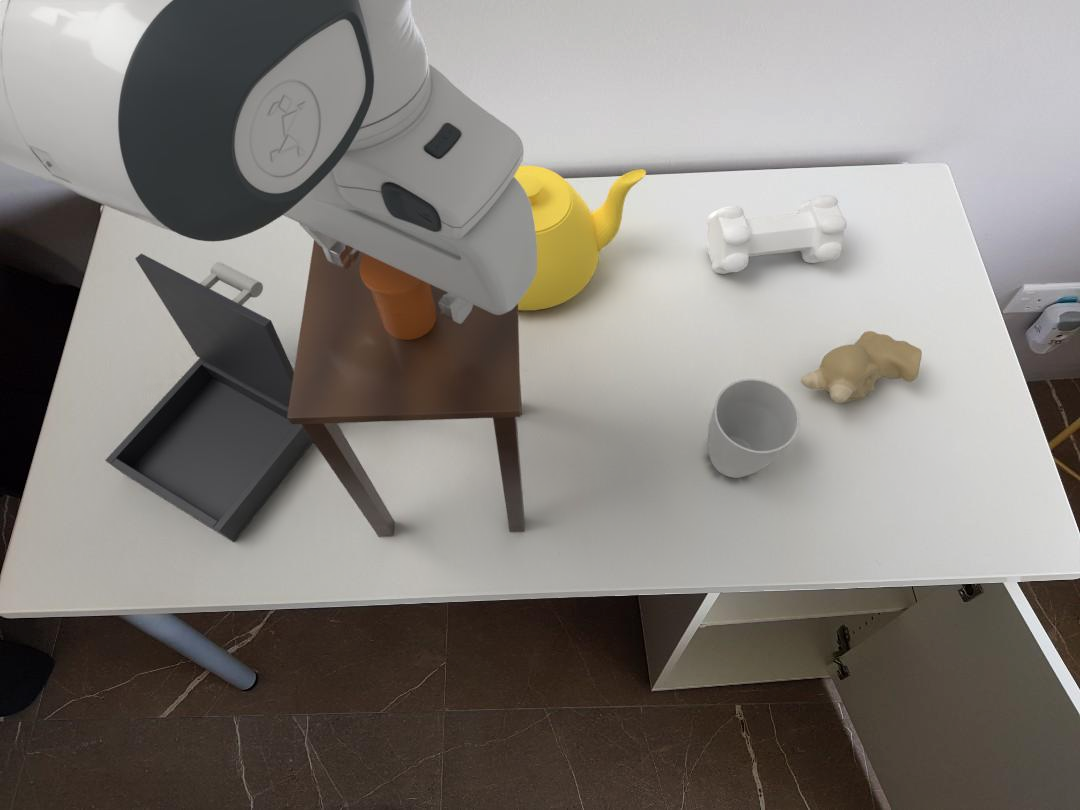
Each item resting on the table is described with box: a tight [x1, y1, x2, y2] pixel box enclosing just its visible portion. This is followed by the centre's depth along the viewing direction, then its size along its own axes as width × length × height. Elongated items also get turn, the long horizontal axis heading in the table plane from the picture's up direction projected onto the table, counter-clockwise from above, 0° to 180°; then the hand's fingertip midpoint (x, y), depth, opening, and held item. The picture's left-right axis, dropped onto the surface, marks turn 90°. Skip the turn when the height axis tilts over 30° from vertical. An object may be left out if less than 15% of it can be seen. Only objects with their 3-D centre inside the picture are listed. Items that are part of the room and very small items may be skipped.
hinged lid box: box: [104, 357, 314, 543], centre depth 76 cm, size 15×16×4 cm
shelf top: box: [287, 239, 522, 424], centre depth 52 cm, size 16×16×1 cm
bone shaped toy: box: [705, 194, 848, 275], centre depth 86 cm, size 15×9×8 cm, turn 98°
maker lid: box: [134, 253, 294, 407], centre depth 71 cm, size 15×16×5 cm
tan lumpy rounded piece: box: [800, 330, 923, 404], centre depth 78 cm, size 8×7×12 cm
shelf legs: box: [301, 383, 526, 538], centre depth 65 cm, size 15×15×27 cm
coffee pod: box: [360, 254, 437, 340], centre depth 49 cm, size 5×5×6 cm
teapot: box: [514, 165, 647, 311], centre depth 84 cm, size 25×18×14 cm
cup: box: [706, 378, 800, 479], centre depth 73 cm, size 8×8×10 cm
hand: (400, 285), depth 49 cm, fingers open, 8 cm apart
